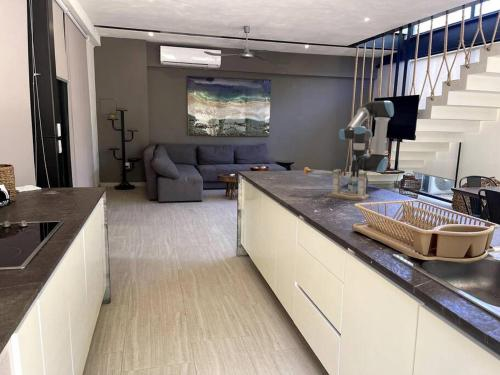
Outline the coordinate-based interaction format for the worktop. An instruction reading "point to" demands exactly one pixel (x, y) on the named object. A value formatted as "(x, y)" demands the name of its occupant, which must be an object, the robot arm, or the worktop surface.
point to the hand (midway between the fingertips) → (357, 180)
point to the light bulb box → (354, 186)
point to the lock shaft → (316, 171)
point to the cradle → (345, 195)
